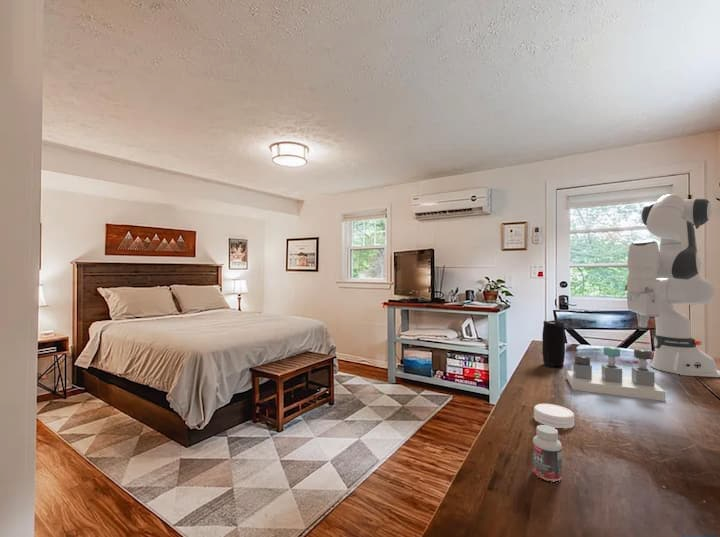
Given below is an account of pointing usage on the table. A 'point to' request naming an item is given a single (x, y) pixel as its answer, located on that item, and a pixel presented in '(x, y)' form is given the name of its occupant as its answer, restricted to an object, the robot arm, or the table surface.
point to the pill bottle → (547, 453)
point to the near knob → (642, 357)
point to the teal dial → (611, 355)
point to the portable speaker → (553, 343)
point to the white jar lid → (554, 416)
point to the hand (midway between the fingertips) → (642, 326)
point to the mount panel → (615, 381)
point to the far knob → (582, 360)
